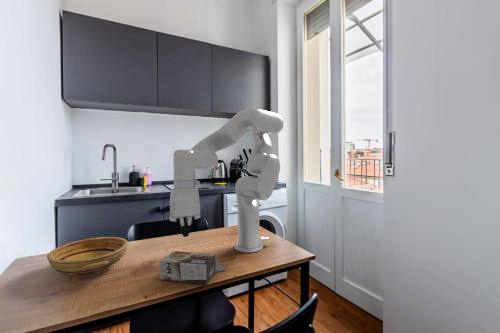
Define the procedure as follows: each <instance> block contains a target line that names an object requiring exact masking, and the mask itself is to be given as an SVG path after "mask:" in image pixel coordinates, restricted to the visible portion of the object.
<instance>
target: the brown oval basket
mask: <svg viewBox="0 0 500 333" xmlns="http://www.w3.org/2000/svg"><path fill="white" fill-rule="evenodd" d="M128 245H129V241H128V240H127V239H125V238H122V237H118V236H117V237H116V236H100V237H98V236H97V237H91V238H85V239H80V240H76V241H73V242H70V243H66V244H63V245H61V246H60V245H59V246H58V247H56V248H53V249H52V250H51V251H49V252H48V253H47V255H46V259H47V260H48V263H49V266H50V267H51V268H52V269H53V270H54V271H56V272H58V273H60V274H66V275H72V276H74V277H81V278H84V277H90V276H95V275H98V274H100V273H103V272H104V271H106V270H107V269H108V268H109V267H110V266H112V265H114V264H116V263H117V262H119V261H120V260H121V259H122V258H123V257H124V255H126V254H125V253H126V251H127V249H128Z"/></svg>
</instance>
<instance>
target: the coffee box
mask: <svg viewBox="0 0 500 333" xmlns="http://www.w3.org/2000/svg"><path fill="white" fill-rule="evenodd" d="M215 258H216V254H215V253H208V252H207V253H205V252H192V251H191V252H188V251H177V250H176V251H174V250H173V251H170V252H169V253H168V254H167V255H165V256H164V257H163V258H161V259H160V260H159V279H160V280H163V281H164V280H166V281H172V280H173V281H172V282H183V283H184V282H185V283H192V284H203V285H205V284H206V285H207V284H208V283H209V282H210V280H211V279H212V277H213V276H214V275H215V274H216V273H215V269H216V268H215V267H216V266H215Z"/></svg>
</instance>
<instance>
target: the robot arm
mask: <svg viewBox="0 0 500 333" xmlns="http://www.w3.org/2000/svg"><path fill="white" fill-rule="evenodd" d="M283 127H284V120H283V117H281V115H280V114H278V113H277V112H272V111H268V110H264V109H261V108H250V109H245V110H241V111H238V112H236V114H235V115H233V116H232V117H231V118H230V119H229V120H228V121H227V122H226V123H225V124H223V125H222V126H221V127H220V128H219V129H217V130H216V131H213V133H210V134H209V135H208V136H206V137H204V138H203V139H201V140H200V141H199V142H197V143H195V145H194V146H193V147H192V148H190V149H176V150H174V151H173V155H172V156H173V188H171V190H170V196H169V221H170V222H174V223H175V222H176V223H178V225H180V235H182V237H183V238H186V237H189V236H190V235H189V234H191V225H192V223H193V222H194V221H195V220H197V219H200V218H201V204H200V194H199V189H198V187H197V186H199V185H200V184H201V181H200V180H197V177H196V176H197V175H196V172H197V170H203V171H205V170H206V171H209V170H212V169H214V168H216V166H217V165H218V162H219V157H218V155H217V152H219V151H222V150H226V149H229V148H231V147H232V146H234V145H235V144H237V143H238V141H239V140H240V139H241V138H242V137H244V135H245V134H246V133H247V132H249V131H250V132H251V134H252V137H253V147H252V149H251V152H250V155H249V158H248V159H247V162H246V171H247V172H248V174H250V175H252V176H250V175H249V176H248V175H245V176H242V177H239V178H238V179H237V181H236V182H235V188H234V189H235V195H236V201H237V202H236V204H237V241H236V243H234V245H233V246H234V249H235V251H238V252H241V253H256V252H260V251H261V250H262V249H263V248H264V245H263V243H264V242H266V243H267V242H270V237H269V236H266V237H265V236H260V206H259V201H266V200H267V201H268V199H270V198H271V196H272V194H273V192H274V190H275V186H276V183H277V181H278V178H279V174H280V171H281V162H280V159H279V158H278V156H277V155H275V154H271V152H272V149H273V146H272V142H271V140H270V137H269V135H273V134H278V133H280V132H282V130H283ZM184 218H186V222H185V221H184Z"/></svg>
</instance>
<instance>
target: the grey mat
mask: <svg viewBox="0 0 500 333" xmlns="http://www.w3.org/2000/svg"><path fill="white" fill-rule="evenodd" d="M215 266H216V267H215V268H216V269H215V273H214V274H216V273H220V272H225V268H224V266H223V265H222V264H221V263H220V261H219V260H218V259H217V258H216V257H215ZM171 282H174V281H173V280H171Z"/></svg>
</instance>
